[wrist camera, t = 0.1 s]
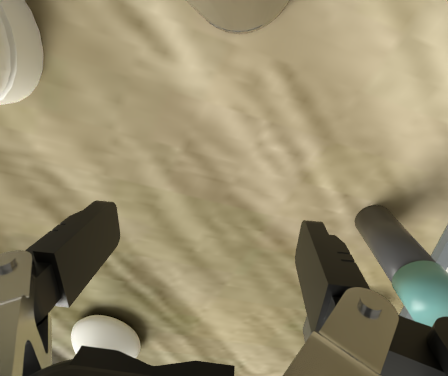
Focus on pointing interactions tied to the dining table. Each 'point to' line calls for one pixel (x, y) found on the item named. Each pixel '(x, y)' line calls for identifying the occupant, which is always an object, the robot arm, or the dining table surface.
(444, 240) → the drawing board
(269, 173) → the dining table surface
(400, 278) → the marker
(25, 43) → the honey pot
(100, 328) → the flower in vase
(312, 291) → the robot arm
